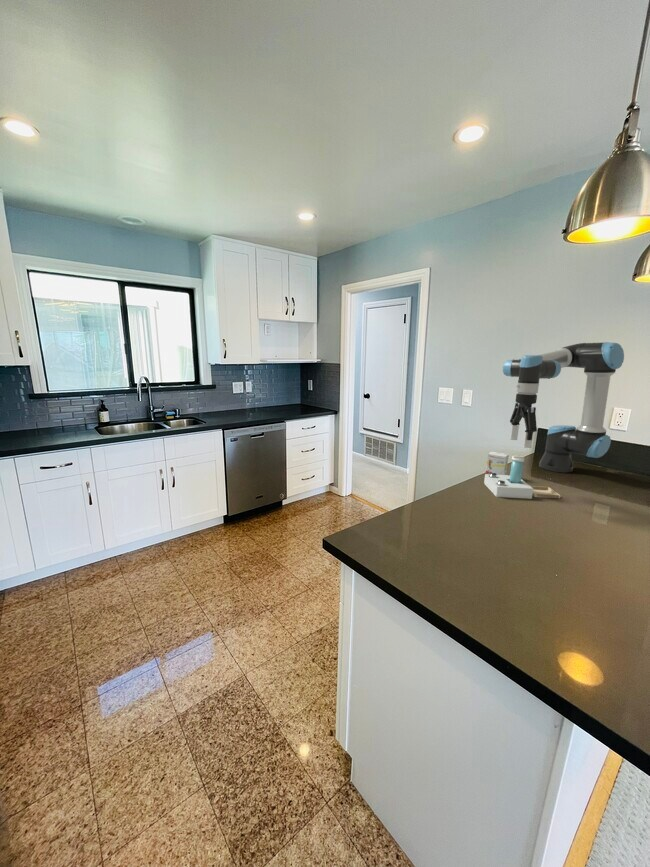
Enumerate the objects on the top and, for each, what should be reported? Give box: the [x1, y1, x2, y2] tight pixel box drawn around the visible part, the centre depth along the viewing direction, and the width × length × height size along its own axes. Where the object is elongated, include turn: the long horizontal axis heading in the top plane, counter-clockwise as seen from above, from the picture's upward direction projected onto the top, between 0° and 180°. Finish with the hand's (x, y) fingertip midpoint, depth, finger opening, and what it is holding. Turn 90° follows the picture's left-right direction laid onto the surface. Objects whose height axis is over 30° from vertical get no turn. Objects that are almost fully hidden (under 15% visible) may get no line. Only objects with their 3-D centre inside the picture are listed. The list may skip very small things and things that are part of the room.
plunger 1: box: [490, 473, 497, 478], centre depth 158 cm, size 3×3×5 cm
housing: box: [483, 473, 533, 500], centre depth 153 cm, size 16×14×5 cm
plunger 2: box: [498, 480, 505, 486], centre depth 148 cm, size 3×3×5 cm
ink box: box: [485, 451, 509, 475], centre depth 171 cm, size 9×5×12 cm, turn 50°
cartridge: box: [509, 455, 526, 484], centre depth 151 cm, size 5×5×16 cm
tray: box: [530, 485, 561, 499], centre depth 151 cm, size 10×10×2 cm
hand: (519, 443), depth 148 cm, fingers open, 13 cm apart
